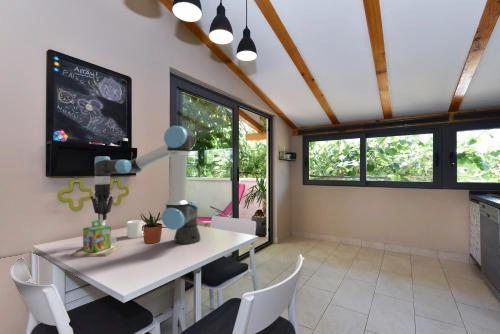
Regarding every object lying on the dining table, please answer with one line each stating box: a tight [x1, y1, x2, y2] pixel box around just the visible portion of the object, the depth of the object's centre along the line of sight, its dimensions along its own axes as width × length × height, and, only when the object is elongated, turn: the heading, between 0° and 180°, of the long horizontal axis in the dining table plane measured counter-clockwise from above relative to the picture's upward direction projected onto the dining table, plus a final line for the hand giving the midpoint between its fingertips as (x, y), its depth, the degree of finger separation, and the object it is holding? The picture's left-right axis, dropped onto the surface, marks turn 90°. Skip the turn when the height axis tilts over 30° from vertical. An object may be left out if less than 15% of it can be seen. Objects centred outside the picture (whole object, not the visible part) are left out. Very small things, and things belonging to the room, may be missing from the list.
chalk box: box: [82, 219, 112, 253], centre depth 127 cm, size 9×9×15 cm
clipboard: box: [69, 245, 122, 257], centre depth 127 cm, size 18×13×1 cm
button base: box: [111, 236, 117, 245], centre depth 139 cm, size 10×10×3 cm
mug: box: [126, 219, 146, 239], centre depth 155 cm, size 12×9×9 cm
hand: (102, 225), depth 139 cm, fingers closed
